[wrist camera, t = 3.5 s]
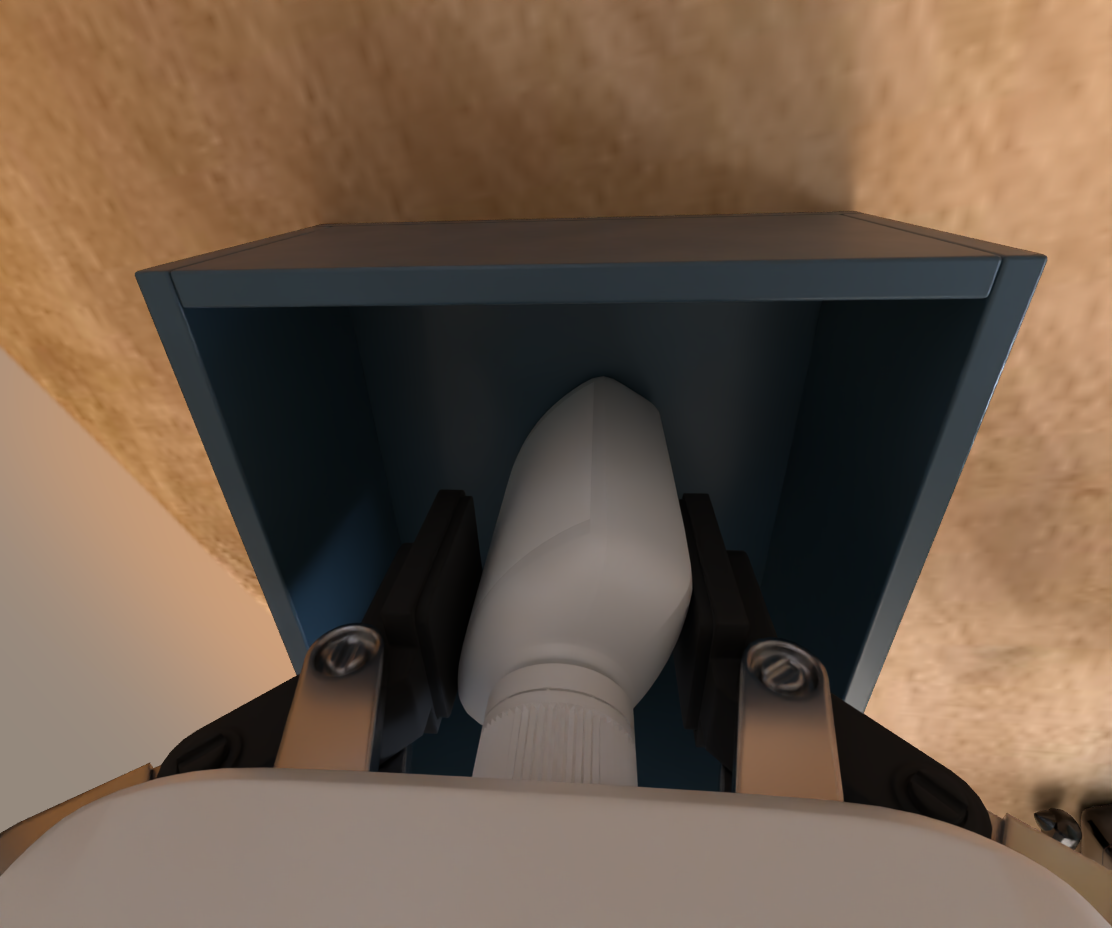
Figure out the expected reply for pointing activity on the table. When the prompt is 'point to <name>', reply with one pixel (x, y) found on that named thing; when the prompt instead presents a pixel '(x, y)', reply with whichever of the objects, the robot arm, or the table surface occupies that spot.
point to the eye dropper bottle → (577, 593)
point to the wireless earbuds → (1081, 831)
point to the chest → (575, 357)
